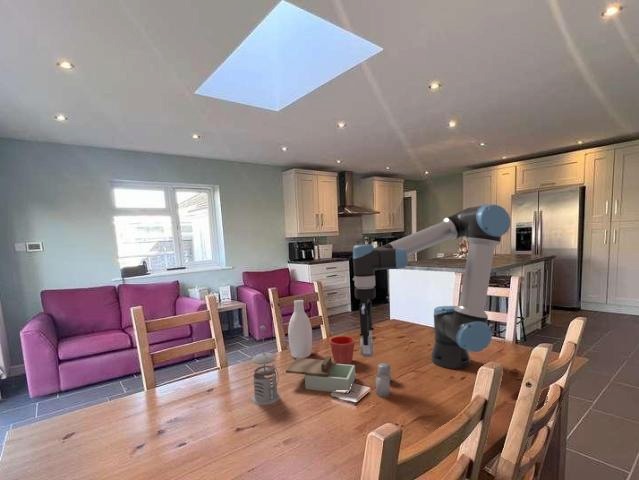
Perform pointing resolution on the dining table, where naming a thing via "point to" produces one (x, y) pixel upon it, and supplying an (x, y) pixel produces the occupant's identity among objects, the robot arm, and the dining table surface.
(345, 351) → the flower pot
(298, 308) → the bottle
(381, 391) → the grey rounded cylinder
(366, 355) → the grey cylinder
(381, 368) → the grey cylinder
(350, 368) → the sage box
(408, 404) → the dining table surface
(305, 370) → the walnut lid
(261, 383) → the french press
